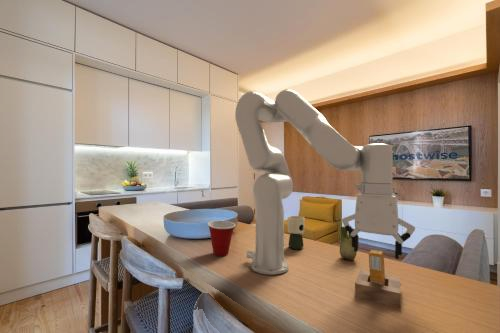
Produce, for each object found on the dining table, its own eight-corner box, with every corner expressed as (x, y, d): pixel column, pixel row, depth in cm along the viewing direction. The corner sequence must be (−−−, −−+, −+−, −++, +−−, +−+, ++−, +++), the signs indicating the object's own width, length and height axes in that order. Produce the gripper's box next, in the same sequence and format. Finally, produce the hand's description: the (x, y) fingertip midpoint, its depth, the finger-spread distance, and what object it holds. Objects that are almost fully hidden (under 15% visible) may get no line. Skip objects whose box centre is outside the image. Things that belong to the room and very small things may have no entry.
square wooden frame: (355, 298, 62) (354, 283, 62) (359, 283, 70) (359, 269, 70) (400, 310, 57) (400, 293, 57) (400, 292, 65) (399, 277, 65)
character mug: (299, 253, 95) (300, 220, 95) (283, 250, 99) (283, 218, 99) (307, 246, 104) (308, 216, 105) (292, 243, 108) (292, 214, 108)
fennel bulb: (358, 261, 87) (358, 228, 87) (347, 262, 85) (347, 228, 86) (347, 255, 92) (347, 224, 93) (337, 257, 91) (337, 225, 91)
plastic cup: (221, 261, 86) (222, 227, 86) (201, 254, 92) (201, 223, 93) (240, 253, 94) (241, 222, 95) (221, 247, 101) (221, 219, 101)
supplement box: (371, 285, 66) (370, 249, 66) (385, 289, 64) (385, 251, 64) (368, 290, 63) (368, 252, 64) (383, 294, 61) (383, 254, 61)
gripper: (339, 188, 66) (339, 251, 65) (416, 192, 57) (416, 265, 56) (344, 187, 72) (344, 244, 72) (414, 190, 63) (413, 256, 63)
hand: (375, 253), depth 64 cm, fingers open, 9 cm apart
